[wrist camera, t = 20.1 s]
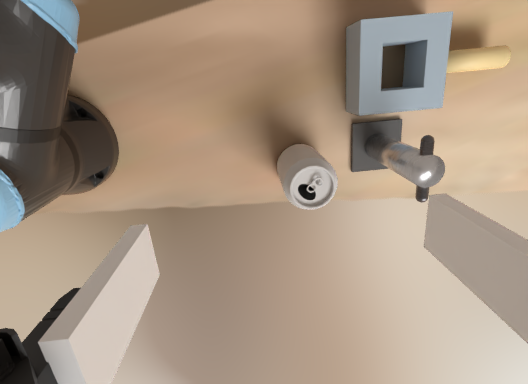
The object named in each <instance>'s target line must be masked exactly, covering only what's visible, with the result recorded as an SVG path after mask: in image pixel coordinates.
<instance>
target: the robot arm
mask: <svg viewBox="0 0 528 384" xmlns="http://www.w3.org/2000/svg"><path fill="white" fill-rule="evenodd" d="M78 26H79V13H78V11H77V9H76V7H75V5H74V3H73V2H72V1H71V0H0V232H1V231H3V230H7V229H10V228H13V227H15V226H16V225H17V224H19V223H20V221H22V220H24V219H25V218H27V217H28V216H30V215H31V214H33V213H34V212H36V211H37V210H39V209H41V208H42V207H44V206H45V205H47V204H48V203H50V202H51V201H53V200H54V199H56V198H58V197H59V196H61V195H70V194H79V193H84V192H87V191H90V190H92V189H94V188H96V187H97V186H99V185H100V184H102V183H103V182H104V181H106V180H107V179H108V178H109V177H110V175H111V174H112V173H113V171H114V169H115V167H116V164H117V161H118V154H119V149H118V142H117V138H116V135H115V132H114V130H113V128H112V126H111V125H110V123H109V122H108V120H107V119H106V118H105V116H104V115H103V114H102V113H101V112H100V111H99V110H97V109H96V108H95V107H94V106H92V105H91V104H89V103H88V102H86V101H84V100H82V99H79V98H77V97H74V96H70V95H67V94H68V88H69V82H70V76H71V70H72V65H73V59H74V53H77V52H78V46H77V34H78ZM424 247H425V248H426V249H427V250H428V251H429V252H430V253H431V254H432V255H433V256H434V257H435V258H436V259H438V260H439V261H440V262H441V263H442V264H443V265H444V266H445V267H446V268H447V269H448V270H449V271H450V272H452V273H453V274H454V275H455V276H456V277H457V278H458V279H459V280H460V281H461V282H462V283H463V284H464V285H465V286H467V287H468V288H469V289H470V290H471V291H472V292H473V293H474V294H475V295H476V296H477V297H478V298H479V299H481V300H482V301H483V302H484V303H485V304H486V305H487V306H488V307H489V308H490V309H491V310H492V311H493V312H494V313H496V314H497V315H498V316H499V317H500V318H501V319H502V320H503V321H504V322H505V323H506V324H507V325H509V327H511V328H512V329H513V330H514V331H515V332H516V333H517V334H518V335H519V336H520V337H521V338H522V339H523V340H525V341H526V342H527V343H528V240H527V239H525V238H523V237H521V236H520V235H518V234H516V233H514V232H513V231H511V230H509V229H507V228H506V227H504V226H502V225H500V224H499V223H497V222H495V221H493V220H491V219H490V218H488V217H486V216H484V215H483V214H481V213H479V212H477V211H475V210H474V209H472V208H470V207H468V206H467V205H465V204H463V203H461V202H459V201H458V200H456V199H454V198H452V197H451V196H449V195H447V194H436V195H429V203H428V212H427V221H426V231H425V240H424ZM159 275H160V274H159V270H158V266H157V262H156V257H155V253H154V249H153V245H152V241H151V237H150V233H149V229H148V224H142V225H133V226H130V227H129V228H128V230H127V231H126V232H125V233H124V235H123V236H122V237H121V238H120V240H119V241H118V242H117V243H116V245H115V246H114V247H113V248H112V250H111V251H110V252H109V254H108V255H107V256H106V257H105V258H104V260H103V261H102V262H101V264H100V265H99V266H98V267H97V269H96V270H95V271H94V272H93V274H92V275H91V276H90V277H89V279H88V280H87V281H86V282H85V284H84V285H83V286H82V287H81V288H74V289H72V290H71V291H69V292H68V293H67V294H65V295H64V296H63V297H61V298H60V299H59V300H58V301H57V302H56V304H55V305H54V306H53V307H52V308H51V310H50V312H48V313H47V314H46V315H45V316H44V318H43V319H42V321H41V322H39V324H38V325H37V326H36V327H35V328H34V329H33V331H32V332H31V333H30V334H29V335H28V337H26V339H25V340H24V341H23V342H22V343H21V341H20V339H19V337H18V334H17V333H16V332H15V330H14V329H8V328H5V329H0V384H111V383H112V381H113V379H114V377H115V374H116V372H117V370H118V368H119V365H120V363H121V361H122V359H123V356H124V354H125V352H126V350H127V347H128V345H129V343H130V340H131V338H132V336H133V334H134V331H135V329H136V327H137V325H138V322H139V320H140V318H141V316H142V313H143V311H144V309H145V307H146V304H147V302H148V300H149V298H150V295H151V293H152V291H153V288H154V286H155V284H156V282H157V279H158V277H159Z"/></svg>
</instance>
